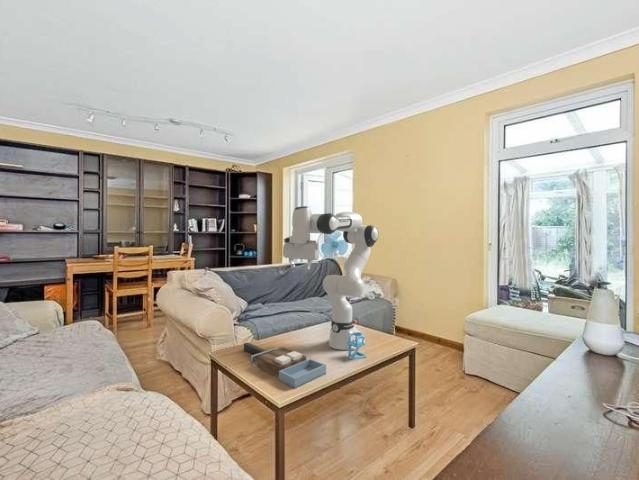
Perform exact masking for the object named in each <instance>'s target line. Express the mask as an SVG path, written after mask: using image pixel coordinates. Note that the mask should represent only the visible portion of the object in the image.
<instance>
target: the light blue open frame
mask: <svg viewBox="0 0 639 480" xmlns="http://www.w3.org/2000/svg"><path fill="white" fill-rule="evenodd" d="M352 335H355V336H356V337H355V340H354V341H351V339H350V337H351V336H352ZM357 336H358V338H357ZM348 337H349V342H348V343H347V344H348V345H349V350H348V357H347V358H348V359H349V358H350V357H351V360H352V359H353V360H359V359H365V358H364V357H366V358H368V355H367V354H365V353H362V352H359V350H360V348H362V347H364V346H366V342H365V343H364V340H365V338H366V336H365V335H364V334H363V333H361V332H360V333H359V332H357V333H351V334H350V335H349V336H348ZM360 338H361V339H362V342H360V341H358V340H359V339H360ZM351 346H353V347H355V348H356V350H354V351H353V352H352V350H351ZM357 354H358V355H357ZM358 358H359V359H358Z"/></svg>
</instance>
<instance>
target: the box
mask: <svg viewBox="0 0 639 480" xmlns="http://www.w3.org/2000/svg"><path fill="white" fill-rule="evenodd" d="M326 374H327V364H325V363H323V362H320V361H317V360H315V359H312V358H308V359H306V360H305V361H303V362H300V363H298V364H295V365H293V366H290V367H288V368H285V369H283V370H280V371H279V378H278V381H279V382H281V383H282V384H285V385H287V386H289V387H291V388H292V389H297V388H299V387H302V386H303V385H306V384H307V383H309V382H312V381H314V380H316V379H318V378H320V377H322V376H324V375H326Z"/></svg>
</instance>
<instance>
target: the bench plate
mask: <svg viewBox="0 0 639 480" xmlns="http://www.w3.org/2000/svg"><path fill="white" fill-rule="evenodd" d="M293 351H294V350H291V349H289V348H286V347H281V348H279V349H278V350H275V351H272V352H269V353H266V354H263V355H260V356H257V364H256V365H257V368H259V369H261V370H262V371H265V372H266V373H268V374H270V375H272V376H273V377H274V376H275V377H276V378H278V379H279V371H280V370H283V369H285V368H288V367H290V366H293V365H295V364H298V363H300V362H303V361H305V360H307V356H306V355H303V354H302V357H301V358H298V359H296V360H292V359H291V362H288V363H286V364H283V365H281V364H279V363H277V362H275V358H277V357H279V356H282V355H284V356H287V354H288V353H291V352H293Z"/></svg>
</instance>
